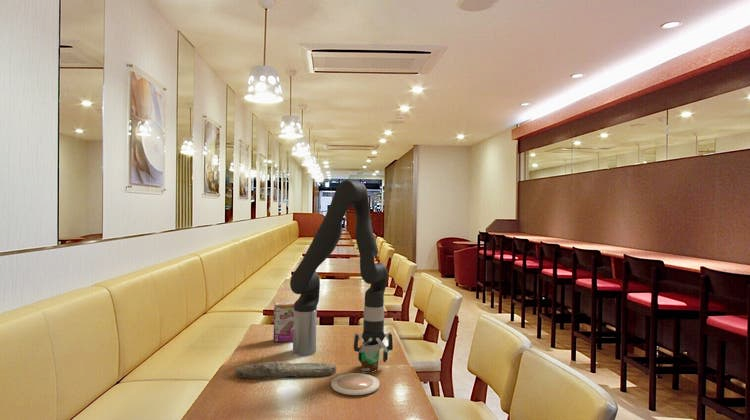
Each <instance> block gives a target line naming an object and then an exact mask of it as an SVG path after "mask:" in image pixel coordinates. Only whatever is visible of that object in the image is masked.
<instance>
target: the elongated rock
mask: <svg viewBox="0 0 750 420" xmlns="http://www.w3.org/2000/svg"><path fill="white" fill-rule="evenodd" d="M336 371H337V367H336V365H335V364H332V363H331V364H330V363H327V362H297V363H291V362H283V361H279V360H276V361H266V362H265V361H262V362H258V363H251V364H246V365H243V364H242V365H239V366H237V367H235V370H234V373H235V375H236V376H237V377H239V378H244V379H245V378H246V379H247V378H248V379H252V378H259V379H262V378H264V380H268V379H267V378H270V379H269V380H271V379H280V378H286V377H296V378H299V377H322V376H330V375H334V374H335V373H336Z"/></svg>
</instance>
